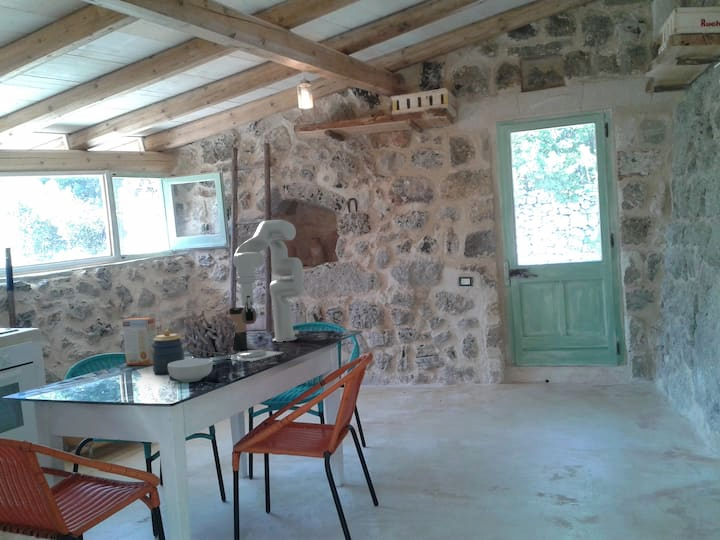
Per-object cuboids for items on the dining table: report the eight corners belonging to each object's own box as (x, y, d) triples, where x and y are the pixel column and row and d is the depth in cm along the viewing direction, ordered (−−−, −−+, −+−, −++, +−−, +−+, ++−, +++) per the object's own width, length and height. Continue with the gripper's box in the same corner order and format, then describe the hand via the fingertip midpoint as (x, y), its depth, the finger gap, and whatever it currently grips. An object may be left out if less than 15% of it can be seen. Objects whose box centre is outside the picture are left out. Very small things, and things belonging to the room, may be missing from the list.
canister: (174, 375, 260) (171, 332, 260) (147, 375, 264) (143, 332, 263) (191, 368, 273) (188, 327, 272) (165, 368, 277) (162, 327, 276)
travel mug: (249, 347, 319) (246, 307, 317) (245, 350, 311) (242, 308, 310) (234, 348, 319) (231, 307, 318) (229, 350, 312) (226, 309, 311)
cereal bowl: (190, 386, 237) (188, 367, 237) (159, 383, 246) (157, 365, 246) (222, 376, 252) (221, 358, 251) (192, 374, 260) (191, 356, 260)
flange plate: (251, 351, 306) (251, 347, 306) (283, 353, 295) (282, 349, 295) (220, 359, 290) (219, 355, 290) (252, 361, 278) (251, 357, 278)
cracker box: (159, 363, 290) (155, 317, 289) (149, 366, 285) (145, 319, 284) (135, 362, 296) (131, 317, 295) (125, 365, 291) (121, 319, 290)
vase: (238, 324, 291) (237, 305, 290) (249, 322, 296) (248, 303, 296) (249, 324, 287) (248, 305, 286) (260, 322, 292) (259, 303, 292)
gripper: (236, 280, 298) (239, 318, 299) (239, 282, 281) (242, 322, 282) (253, 279, 300) (255, 317, 301) (256, 280, 283) (259, 321, 284)
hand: (249, 319), depth 291 cm, fingers closed on vase, 6 cm apart
